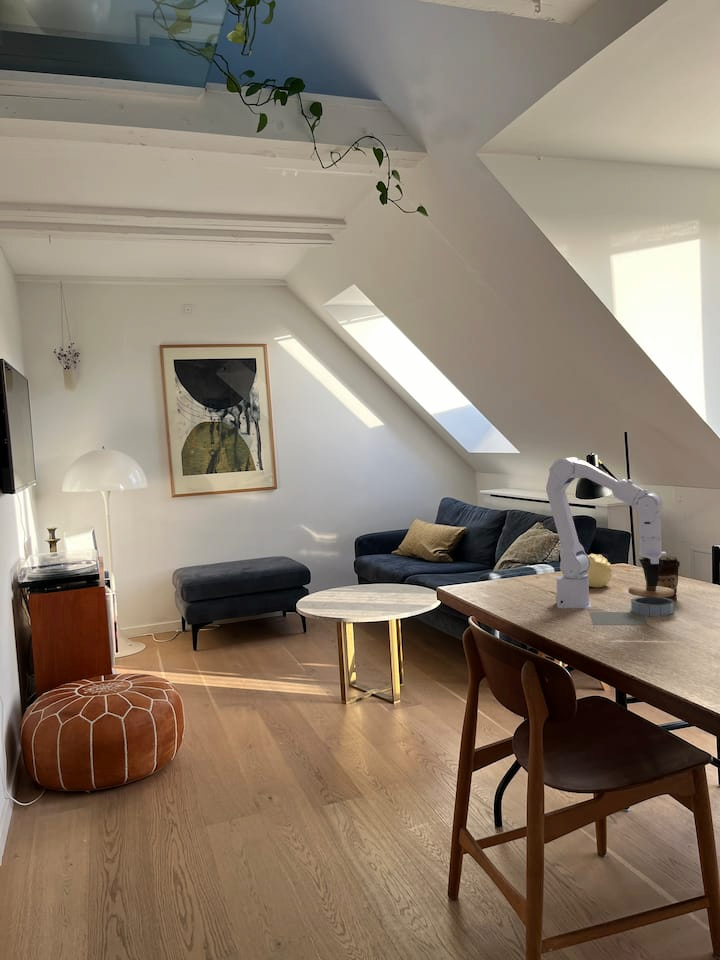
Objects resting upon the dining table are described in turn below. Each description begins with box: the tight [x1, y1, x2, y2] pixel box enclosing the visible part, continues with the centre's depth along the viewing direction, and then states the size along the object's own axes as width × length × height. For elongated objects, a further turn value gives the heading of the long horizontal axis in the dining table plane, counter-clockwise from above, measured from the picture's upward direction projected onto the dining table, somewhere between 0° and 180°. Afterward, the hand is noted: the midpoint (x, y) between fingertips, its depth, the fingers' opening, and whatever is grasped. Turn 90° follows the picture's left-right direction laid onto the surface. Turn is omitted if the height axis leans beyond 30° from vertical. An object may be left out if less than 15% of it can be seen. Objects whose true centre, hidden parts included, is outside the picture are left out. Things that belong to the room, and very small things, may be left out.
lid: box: [628, 578, 674, 598], centre depth 215 cm, size 12×12×6 cm
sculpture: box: [587, 553, 613, 588], centre depth 254 cm, size 12×12×11 cm
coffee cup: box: [657, 555, 681, 602], centre depth 228 cm, size 9×8×13 cm
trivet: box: [588, 611, 650, 626], centre depth 210 cm, size 14×14×1 cm
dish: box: [630, 596, 675, 617], centre depth 215 cm, size 11×11×4 cm
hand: (651, 585), depth 215 cm, fingers closed on lid, 3 cm apart
